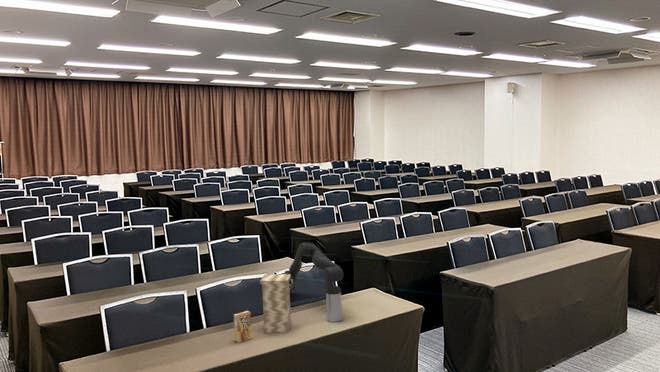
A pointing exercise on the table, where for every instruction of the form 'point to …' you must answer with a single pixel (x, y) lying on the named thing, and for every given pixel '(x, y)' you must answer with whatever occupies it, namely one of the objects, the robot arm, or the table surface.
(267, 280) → the pedestal
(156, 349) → the table surface
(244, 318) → the candy box
